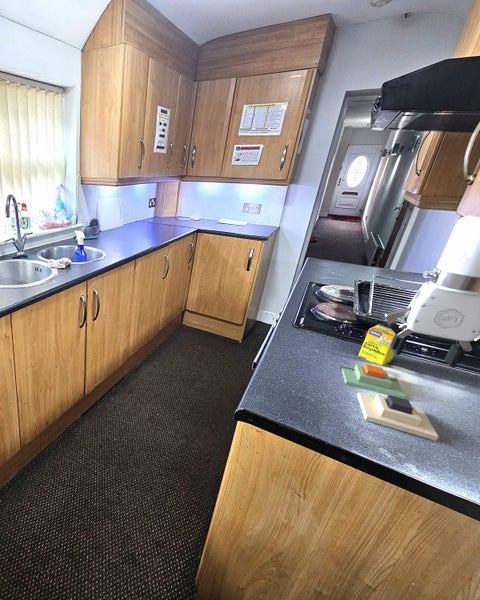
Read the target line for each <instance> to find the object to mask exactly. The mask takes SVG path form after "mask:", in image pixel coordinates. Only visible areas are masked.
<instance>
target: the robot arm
mask: <svg viewBox="0 0 480 600" xmlns="http://www.w3.org/2000/svg"><path fill="white" fill-rule="evenodd" d="M422 278H424V279H428V280H429V281H425V282H424V283H423V285H421V287H420V288H419V290H417V292H416V294H415V295H414V296H413V298H412V300H411V302H410V303H409V305H408V307H407V308H402V309H399V310H395V311H391V312H387V313H385V314H384V318H385V320H386V322H387V324H388V326H389V328H390V329H392V330H393V331H394V333H395V336H394V338H393V340H392V343H391V345H390V347H391V349H392V350H393V352H394V356H400V355H401V354H402V351H403V349H404V347H405V345H406V343H407V338H406V337H408V336H409V335H411V334H413V333H418V334H422V335H428V336H432V337H437V338H438V337H439V338H443V339H448V340H454V341H456V343H453V344H452V345H450V347H449V350H448V351H447V353H446V355H445V357H444V361H445V362H446V363H447V365H448V366H449V367H450V368H456V367H457V365H458V364H460V363H461V362H462V361H463V359H464V358H465V357H464V356H465V355H466V353H467V352H470V351H472V350H473V349H475V348H479V347H480V214H469V215H465V216H463V217H461V218H460V219H459V220H457V222H456V224H455V225H454V227H453V229H452V232H451V235H450V236H449V238H448V241H447V243H446V246H445V248H444V250H443V252H442V254H441V257H440V258H439V261H438V263H437V265H436V267H434V268H433V270H430V271H429V270H425V271H424V272H423V274H422ZM398 319H402V322H403V323H402V324H401V325H398V324H397V322H396V321H397V320H398Z"/></svg>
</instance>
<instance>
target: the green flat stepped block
mask: <svg viewBox="0 0 480 600" xmlns="http://www.w3.org/2000/svg"><path fill="white" fill-rule="evenodd" d="M364 366H365V365H363V364H359V363H356V364H355V365H354V368H352V367H351V368H350V367H346V366H342V365H340V370H341V373H342V377H343V381H344V385H347V386H350V387H355V388H359V389H363V390H366V391H371V392H373V393H374V392H375V393H377V394H381V395H385V396H388V395H391V396H395V397H399V398H403V399H406V397H407V396H406V394H405V392H404V390H403V389H402V387H401V385H400V383H399V381H398V379H397V378H393V377H390V376H389V374H388V372H387V370H384V372H385V374H386V375H385V377H384V379H381V378H377V377H373V376H369V375H365V372H364V370H363V368H364Z"/></svg>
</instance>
